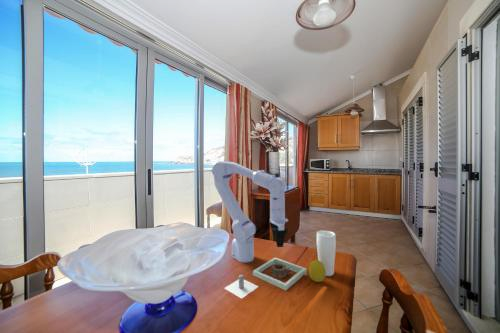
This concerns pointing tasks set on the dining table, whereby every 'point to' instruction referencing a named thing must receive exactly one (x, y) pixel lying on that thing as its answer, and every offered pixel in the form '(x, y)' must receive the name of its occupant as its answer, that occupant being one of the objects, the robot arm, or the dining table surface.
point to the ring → (279, 270)
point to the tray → (276, 282)
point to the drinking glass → (326, 250)
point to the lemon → (317, 271)
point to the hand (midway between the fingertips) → (278, 242)
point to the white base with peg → (241, 287)
